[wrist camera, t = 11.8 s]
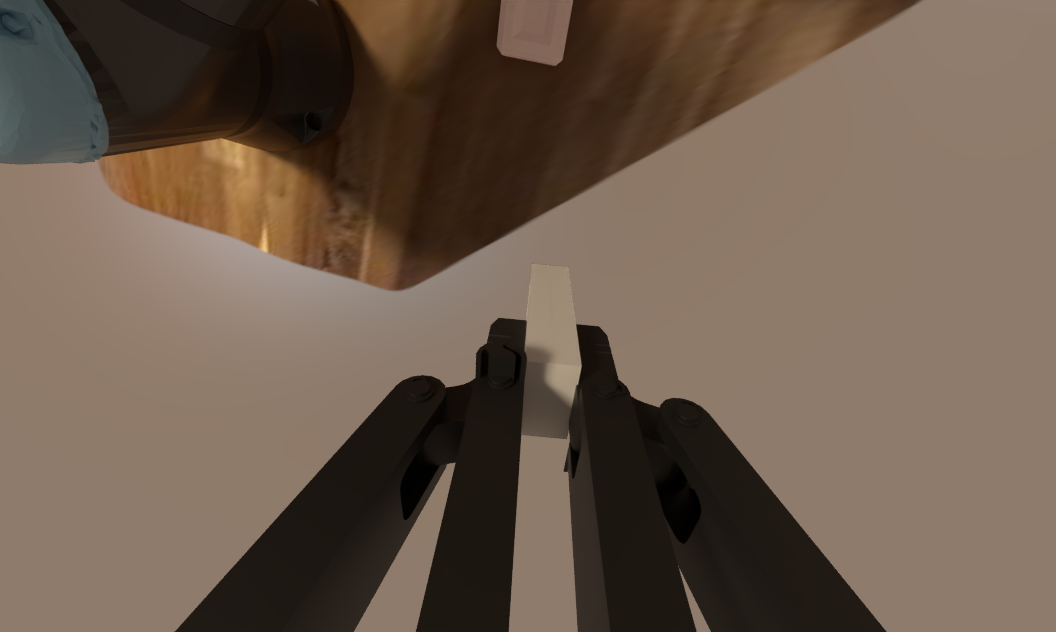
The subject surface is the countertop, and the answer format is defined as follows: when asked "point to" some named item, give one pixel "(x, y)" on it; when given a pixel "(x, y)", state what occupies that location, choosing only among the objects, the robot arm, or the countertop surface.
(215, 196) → the countertop surface
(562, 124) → the countertop surface
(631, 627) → the robot arm
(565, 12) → the soap bar
